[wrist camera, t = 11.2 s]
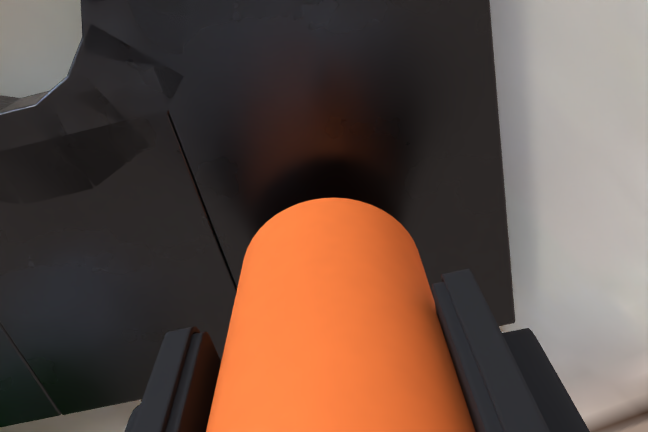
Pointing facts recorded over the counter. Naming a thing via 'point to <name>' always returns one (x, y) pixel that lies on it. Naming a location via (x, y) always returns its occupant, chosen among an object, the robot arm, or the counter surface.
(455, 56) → the sink plate
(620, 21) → the counter surface
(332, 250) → the plug
